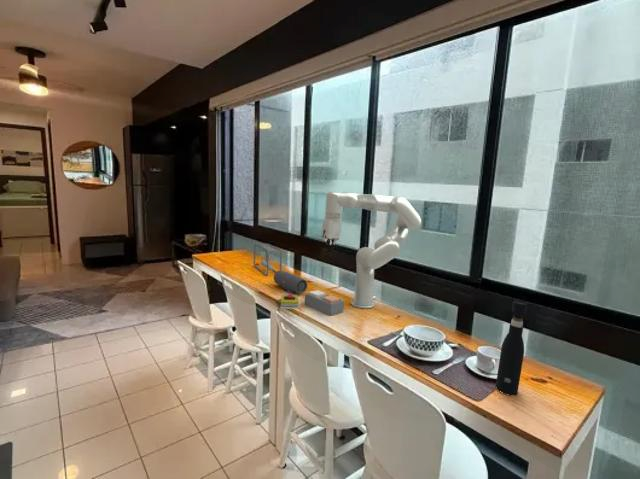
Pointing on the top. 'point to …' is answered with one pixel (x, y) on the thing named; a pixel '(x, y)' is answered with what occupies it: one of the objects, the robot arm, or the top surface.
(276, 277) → the bluetooth speaker
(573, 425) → the top surface
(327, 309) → the key box
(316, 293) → the key white
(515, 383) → the black water bottle
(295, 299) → the emergency button
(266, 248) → the newton's cradle
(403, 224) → the robot arm
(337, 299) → the key terracotta
